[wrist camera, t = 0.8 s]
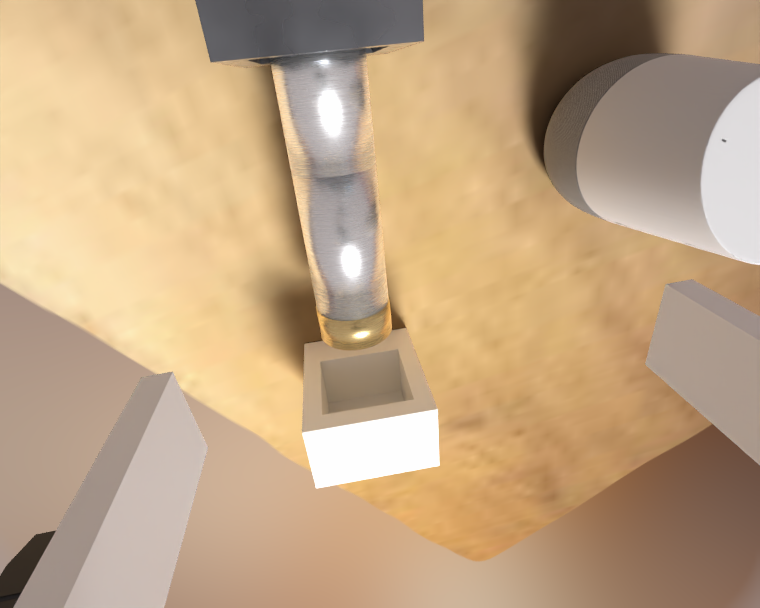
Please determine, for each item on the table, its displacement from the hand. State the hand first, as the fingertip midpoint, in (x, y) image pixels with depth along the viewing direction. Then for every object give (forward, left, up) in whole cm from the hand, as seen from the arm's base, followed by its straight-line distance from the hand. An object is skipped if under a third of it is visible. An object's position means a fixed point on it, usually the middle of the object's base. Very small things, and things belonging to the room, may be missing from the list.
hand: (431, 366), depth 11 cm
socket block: (+14, -2, -19) cm, 24 cm away
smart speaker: (-2, +16, -19) cm, 26 cm away
